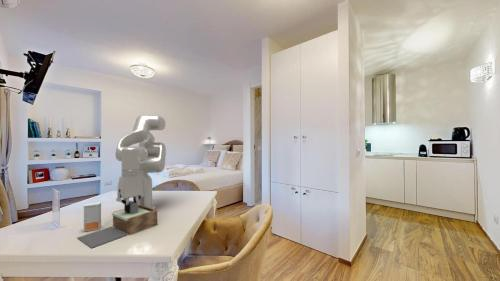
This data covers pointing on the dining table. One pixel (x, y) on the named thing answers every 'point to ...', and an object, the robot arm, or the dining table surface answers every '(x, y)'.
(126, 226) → the walnut box
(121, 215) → the cover plate
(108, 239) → the rubber mat
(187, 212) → the dining table surface
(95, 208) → the skincare box
